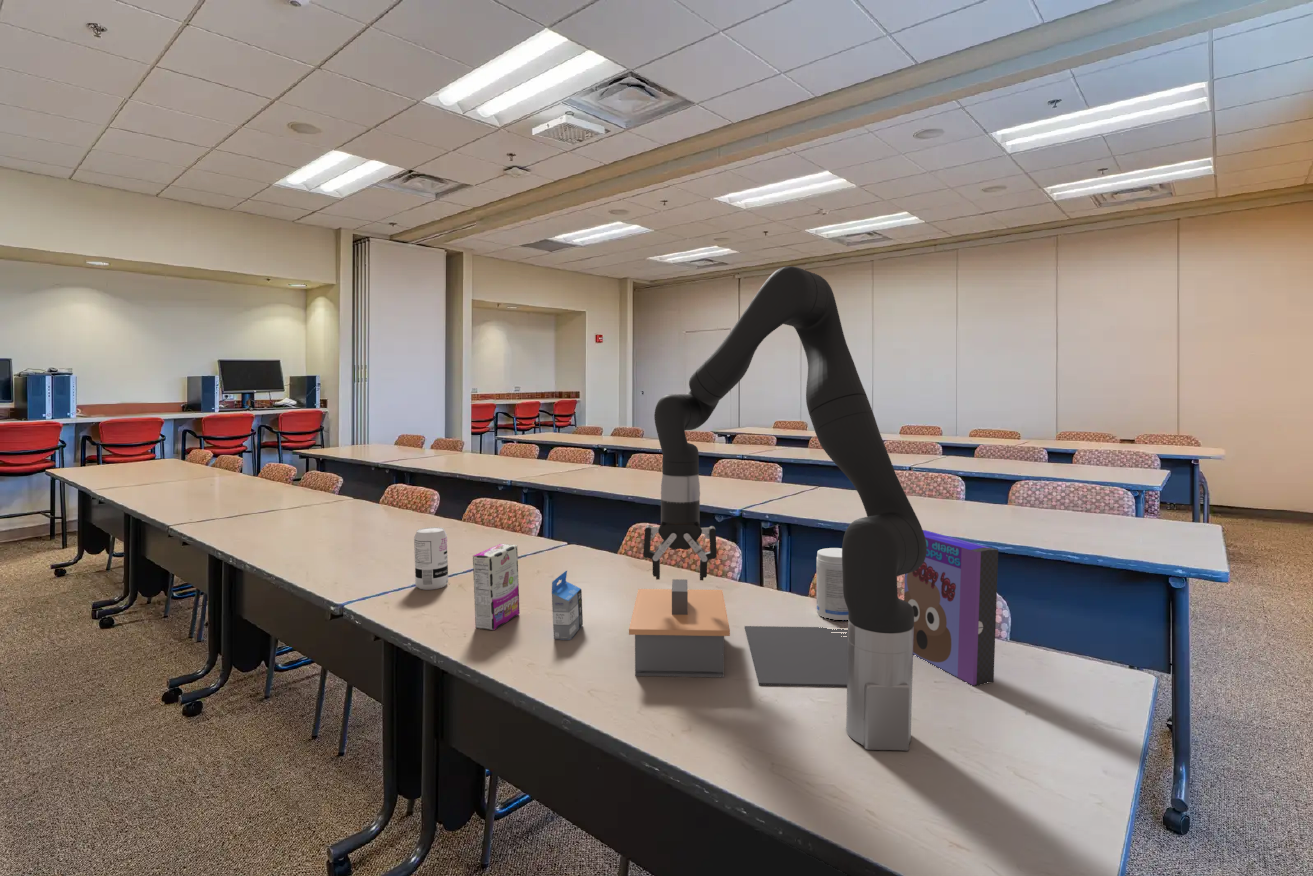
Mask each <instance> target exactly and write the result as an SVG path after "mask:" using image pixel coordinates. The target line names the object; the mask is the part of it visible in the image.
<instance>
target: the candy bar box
mask: <svg viewBox="0 0 1313 876" xmlns="http://www.w3.org/2000/svg"><path fill="white" fill-rule="evenodd" d="M518 553H519V552H518V545H517V544H511V543H510V544H508V543H499V544H497V545H495V546H491V547H489V548H488V549H485V550H483V551H480V552H479V553H476V554H474V555H472V568H473V569H472V570H473V571H472V572H473V592H474V595H473V596H474V599H473V600H474V616H475V618H474V620H475V624H474V625H475V629H478V630H479V629H480V630H487V631H495V630H497V629H498V628H500V627H501V626H503V625H504V624H506V623H508V622H509V621H511V620H512V619H514V618H515V617H517V616H519V615H520V591H519V589H520V588H519V585H520V584H519V559H518Z"/></svg>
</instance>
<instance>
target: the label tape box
mask: <svg viewBox="0 0 1313 876" xmlns="http://www.w3.org/2000/svg"><path fill="white" fill-rule="evenodd" d="M567 574H568V570H565V571H564V572H562V573H560V575H558V576H557V577H556V578H555V579H554V580H552V581H551V607H552V608H551V609H552V610H551V612H552V628H553V639H554V640H562V641H563V640H566V641H570V640H572V639H573V637H574V636H575V635H576V634H577V632H578V631H579V630H580V629H581V628H582V627H583V625H584V624H583V623H584V620H583V619H584V618H583V593H582V592H583V591H582V588H580V587H578V586H576V585H575V584H573V583H570V582H568V581H567V576H568V575H567ZM558 583H559V584H558Z"/></svg>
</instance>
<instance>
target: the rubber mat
mask: <svg viewBox="0 0 1313 876" xmlns="http://www.w3.org/2000/svg"><path fill="white" fill-rule="evenodd" d="M819 627H820V628H819ZM821 627H822V628H821ZM823 627H824V626H779V625H778V626H774V625H773V626H772V625H771V626H769V625H768V626H767V625H766V626H765V625H763V626H761V625H760V626H759V625H757V626H755V625H744V630H745V633H746V639H747V642H748V647H749V651H750V654H751V658H752V664H753V667H754V670H755V675H756V679H757V683H758V686H777V687H778V686H783V687H785V686H788V687H790V686H791V687H833V688H834V687H842V688H845V687H846V688H847V658H848V630H844V629H842V630H841V629H837V630H836V629H835V630H834V629H833V630H832V629H827V628H823ZM831 632H847V633H846V634H845V633H844V634H843V633H842V634H841V633H831ZM841 636H842V637H841ZM843 636H847V637H843Z"/></svg>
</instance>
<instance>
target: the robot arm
mask: <svg viewBox="0 0 1313 876" xmlns="http://www.w3.org/2000/svg"><path fill="white" fill-rule="evenodd" d="M837 305H838V304H837V301H836V298H835V294H834V291H833V289H832V286H831V285H830V284H829V282H828V281H827V280H826V279H825V278H824V277H823V276H821V275H819V274H817V273H814V272H811V271H808V270H805V269H803V268H801V267H797V266H791V265H789V266H788V265H787V266H783V267H780V268H779V269H776V270H775V271H774V272H773V273H772V274H771V275H770V276H768V278H767V279H766V280H765V282H764V283H763V284H762V286H761V287H760V288H759V289H758V291H757V293H756V294H755V296H754V297H753V299H752V300H751V301H750V303H749V305H748V306H747V308H745V310H744V311H743V313H742V315H740V317H739V319H738V320H737V321H736V323H735V325H734V326H733V328H732V329H731V330H730V332H729V333H728V335H727V336H726V338H724V340H723V341H722V342H721V343H720V345H719V346H718V347H717V348H716V349H715V350H714V351H713V352H712V354H710V355H709V356H708V358H707V359H706V360H704V362H703V363H702V364H701V365H699V366H698V368H697V369H696V370H695V371H694V372H693V373H692V375H691V377H690V378H689V382H688V387H689V391H688V392H687V393H684V394H683V393H681V394H677V393H675V394H673V393H671V394H666V395H663V396H662V397H660V399H659V400H658V401H657V404H656V406H655V408H654V418H653V420H654V425H655V429H656V433H657V437H658V440H659V441H658V442H659V445H660V448H661V453H662V460H661V461H662V462H661V463H662V464H661V465H662V475H661V484H660V525H659V527H658V526H652V525H650V524H647V525H646V526H645V528H644V536H643V539H644V540H643V553H642V555H643V557H644V558H648V559H650V560H651V562H652V575H653V577H655V580H656V581H657V580H661V557H662V555H664V554H665V552H667V550H668V548H669V549H671V550H674V551H675V550H679V549H680V550H684V551H685V550H686V551H687V550H688V551H689V549H692V550H693V551H694V553H695V554H696V555H697V556H698V557H699V581H704V578H707V577H708V562H709V561H710V560H715V559H717V557H718V552H717V536H716V535H717V534H716V533H717V531H716V527H715V526H714V525H710V526H709V527H701V524H700V509H701V508H700V506H701V504H700V503H701V502H700V501H701V499H700V497H701V489H700V488H701V486H700V477H699V474H700V473H699V471H700V470H699V469H700V467H699V466H700V465H699V463H700V462H699V461H700V460H699V458H700V457H699V449H698V447H697V446H696V445H695V444H693V443H690V442H688V440H687V436H686V433H685V432H686V431H693V430H696V429H698V428H700V427H701V426H702V425H703V424H705V423H706V422H707V421H708V420H709V418H711V417H710V416H711V415H712V414H713V412H714V411H715V409H716V407H717V405H718V404H719V402H720V400H722V398H724V397H725V396H726V395H727V394H728V393H729V392H730V391H731V390H732V389H733V388H735V386H737V384H738V383H739V382H740V381H741V380H742V379H743V378H744V376H745V375H746V373H747V371H748V370H749V367H750V365H751V363H752V360H753V357H754V354H755V353H756V351H757V349H758V347H759V346H760V345H761V343H762V342H763V341H764V340H766V339H765V338H767V337H768V336H769V335H770V334H772V333H773V332H774V331H775V330H777V329H778V328H779V327H781V326H782V325H787V326H789V327H793V328H794V330H795V331H796V333H797V335H798V336H799V340H800V342H801V346H802V347H803V350H804V352H805V357H806V360H807V377H806V378H807V380H806V390H805V402H806V407H807V412H808V415H809V417H810V421H811V423H812V426H813V427H812V428H813V431H814V433H815V436H816V438H817V440H818V442H819V444H820V446H821V448H822V450H823V451H824V452H825V454H827V456H828V457H829V458H830V459H831V461H832V462H833V463H834V464H835V465H836V466H837V468H838V469H839V470H841V472H842V473H843V474H844V475H845V476H846V477H847V478H848V480H849V481H850V482H851V483H852V485H853V486H854V489H855V490H856V492H857V493H858V495H859V497H860V501H861V503H862V505H863V508H864V510H865V513H866V516H864V517H860V518H858V519H855V520H853V521H852V522H851V523H850V524H849V525H848V527H846V530H845V532H844V535H843V539H842V547H841V548H842V572H843V594H844V599H845V603H846V605H847V608H848V621H847V622H848V623H847V625H848V658H847V687H846V718H845V720H846V724H845V725H846V726H845V730H846V733H847V735H848V736H849V737H850V739H852V740H854V741H855V742H856V743H859V744H861V745H862V746H863V748H864V749H865V750H869V751H870V750H871V751H872V750H873V751H874V750H879V751H909V750H910V743H911V740H912V718H913V717H912V709H913V705H912V702H913V667H914V666H913V665H914V659H913V658H914V655H913V638H914V610H913V607H912V606H911V605H910V604H909V603H908V602H906V601H904V599H900V598H899V593H898V577H899V576H903V575H904V576H905V574H907V573H910V572H913V571H915V570H917V569H918V568H920V567H921V565H922V564H923V562H924V560H925V557H926V552H927V546H926V539H925V535H924V532H923V530H924V529H923V528H922V525H921V523H920V520H919V519H918V516H917V514H916V513H915V510H914V509H913V507H912V504H911V502H910V501H909V498H908V496H907V494H906V492H905V490H904V489H903V486H902V485H901V483H900V480H899V478H898V475H897V473H896V471H895V468H894V465H893V462H892V461H891V458H890V455H889V452H888V450H887V447H886V445H885V443H884V440H883V438H882V435H881V432H880V430H879V427H878V424H877V420H876V418H875V415H874V412H873V408H872V407H871V406H872V405H871V403H870V401H869V399H868V398H869V397H868V396H867V393H866V389H865V388H864V386H863V383H862V381H861V379H860V375H859V372H858V370H857V368H856V364H855V362H854V359H853V357H852V355H851V352H850V349H849V346H848V343H847V341H846V338H845V335H844V330H843V327H842V322H841V318H840V313H839V311H838V310H839V309H838V306H837ZM656 534H658V535H659V536H660V537H661V539H662V541H661V542H660V544H659V545H658V547H657V548H656V550H654V551H653V550H651V544H652V543H651V542H652V539H654V538H655V536H656ZM702 535H705V538H706V539H707V540H709V551H707V552H706V551H705V550H704V549H703V547H702V545H701V544H700V543H699V542H698V540H699V538H700V537H701V536H702Z"/></svg>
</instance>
